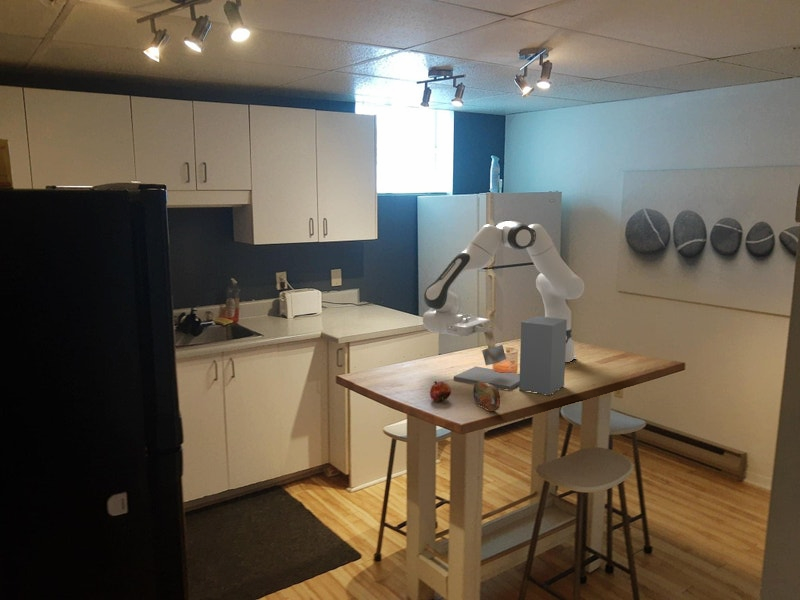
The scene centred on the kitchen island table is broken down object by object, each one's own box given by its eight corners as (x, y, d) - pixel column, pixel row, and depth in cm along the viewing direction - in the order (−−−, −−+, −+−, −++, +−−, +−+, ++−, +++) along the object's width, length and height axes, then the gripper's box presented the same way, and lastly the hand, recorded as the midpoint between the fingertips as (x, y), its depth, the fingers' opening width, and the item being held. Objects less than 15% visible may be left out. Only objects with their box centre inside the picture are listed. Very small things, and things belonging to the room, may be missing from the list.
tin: (472, 401, 220) (472, 378, 219) (480, 400, 221) (480, 377, 220) (493, 415, 206) (493, 390, 205) (501, 414, 207) (502, 389, 206)
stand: (519, 390, 232) (521, 321, 228) (534, 381, 244) (536, 316, 240) (549, 396, 226) (552, 325, 222) (564, 386, 237) (566, 319, 233)
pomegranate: (453, 408, 219) (446, 385, 226) (455, 396, 214) (448, 373, 221) (433, 412, 218) (426, 388, 225) (434, 400, 213) (427, 376, 220)
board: (453, 379, 246) (453, 376, 246) (475, 369, 261) (475, 366, 260) (509, 390, 233) (509, 386, 232) (529, 379, 247) (529, 375, 247)
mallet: (475, 325, 243) (486, 322, 240) (484, 322, 250) (495, 319, 247) (486, 365, 243) (497, 363, 240) (495, 361, 249) (506, 358, 246)
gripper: (445, 321, 243) (477, 325, 235) (471, 313, 260) (501, 317, 252) (445, 337, 244) (477, 341, 236) (471, 328, 261) (501, 332, 253)
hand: (489, 329), depth 244 cm, fingers closed on mallet, 2 cm apart
